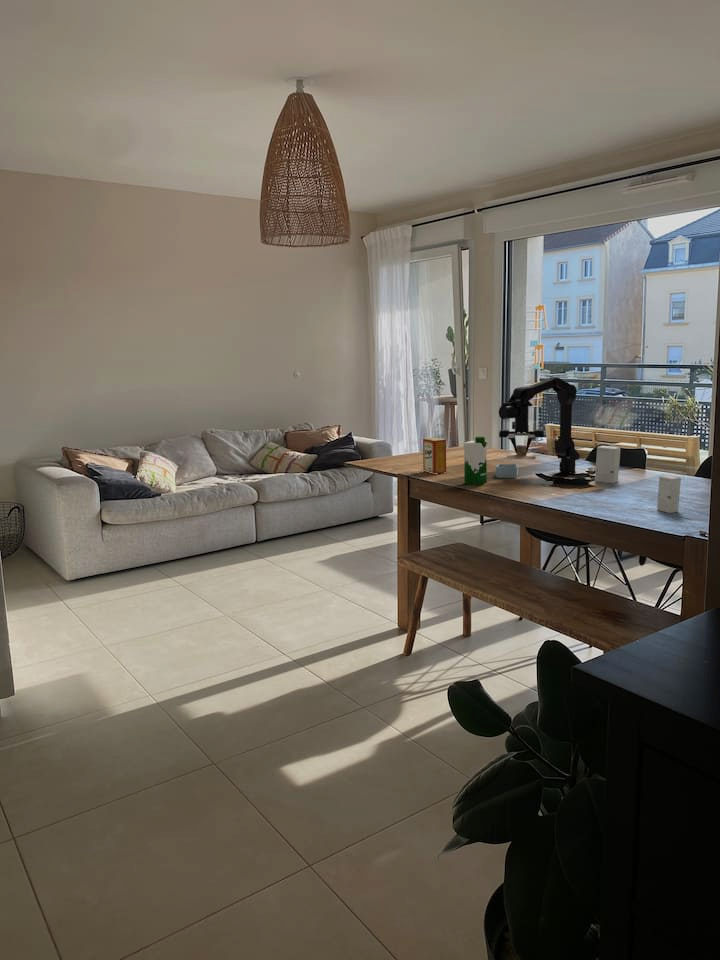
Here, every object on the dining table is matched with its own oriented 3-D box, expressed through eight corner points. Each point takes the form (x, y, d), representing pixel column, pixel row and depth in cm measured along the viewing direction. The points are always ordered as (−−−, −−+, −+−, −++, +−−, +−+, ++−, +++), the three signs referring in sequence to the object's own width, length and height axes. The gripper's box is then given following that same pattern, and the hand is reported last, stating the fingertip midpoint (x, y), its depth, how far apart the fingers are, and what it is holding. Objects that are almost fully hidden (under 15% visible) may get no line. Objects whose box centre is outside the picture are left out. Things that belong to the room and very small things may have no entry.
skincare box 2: (656, 510, 264) (657, 476, 262) (665, 508, 266) (667, 474, 263) (670, 513, 258) (671, 478, 256) (679, 511, 260) (681, 477, 258)
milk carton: (480, 486, 316) (480, 438, 312) (461, 484, 321) (460, 437, 317) (489, 482, 323) (489, 436, 319) (470, 480, 328) (470, 435, 324)
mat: (553, 479, 326) (553, 478, 326) (552, 485, 312) (552, 484, 312) (520, 478, 329) (520, 477, 329) (518, 484, 316) (518, 483, 316)
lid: (535, 454, 330) (536, 444, 329) (535, 459, 319) (535, 448, 318) (508, 454, 333) (508, 444, 332) (506, 459, 322) (506, 448, 321)
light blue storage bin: (518, 475, 338) (518, 464, 337) (516, 478, 329) (516, 467, 328) (497, 474, 340) (497, 463, 339) (496, 478, 332) (496, 467, 331)
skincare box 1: (594, 481, 317) (595, 446, 315) (600, 479, 322) (601, 445, 319) (614, 483, 312) (615, 448, 309) (619, 481, 316) (620, 446, 314)
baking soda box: (423, 471, 354) (422, 438, 351) (435, 470, 357) (434, 436, 354) (434, 474, 346) (433, 440, 343) (446, 473, 349) (445, 438, 346)
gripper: (544, 415, 328) (543, 450, 331) (500, 415, 333) (500, 450, 336) (543, 417, 318) (543, 454, 320) (499, 418, 322) (499, 454, 325)
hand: (521, 453), depth 326 cm, fingers closed on lid, 4 cm apart
